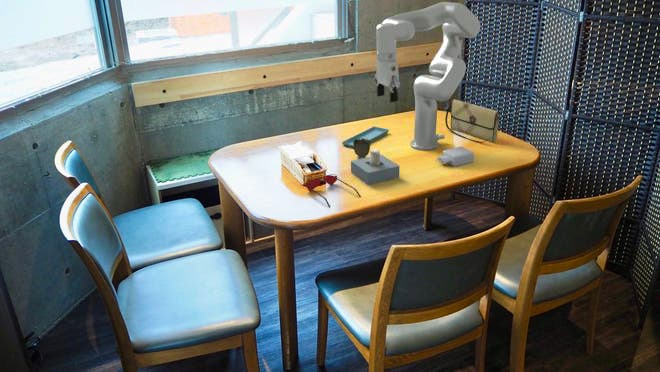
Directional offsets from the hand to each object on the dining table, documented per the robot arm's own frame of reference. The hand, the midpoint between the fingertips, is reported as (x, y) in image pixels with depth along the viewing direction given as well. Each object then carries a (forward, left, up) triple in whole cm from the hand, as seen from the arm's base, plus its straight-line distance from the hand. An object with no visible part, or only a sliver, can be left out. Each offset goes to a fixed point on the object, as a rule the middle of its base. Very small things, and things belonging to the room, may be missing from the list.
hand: (387, 98), depth 221 cm
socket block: (+12, +12, -27) cm, 32 cm away
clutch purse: (-48, -5, -27) cm, 55 cm away
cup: (+8, -6, -27) cm, 29 cm away
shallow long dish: (-5, -26, -27) cm, 38 cm away
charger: (-22, +16, -27) cm, 38 cm away
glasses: (+35, +20, -27) cm, 48 cm away
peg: (+12, +12, -27) cm, 32 cm away
